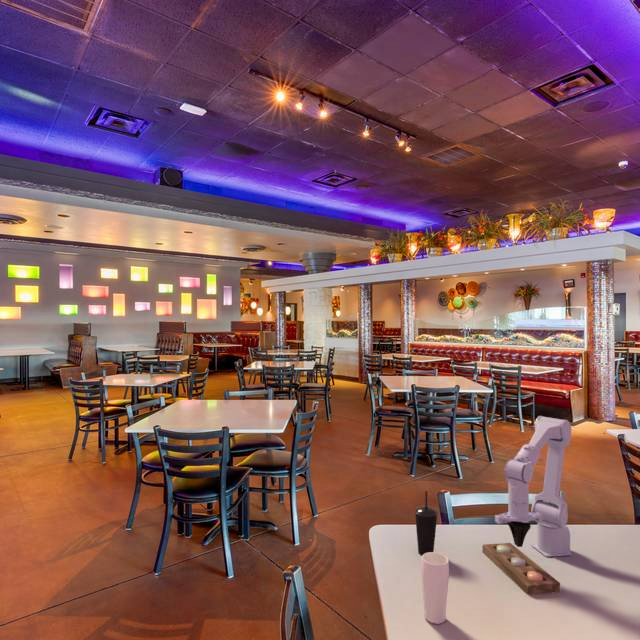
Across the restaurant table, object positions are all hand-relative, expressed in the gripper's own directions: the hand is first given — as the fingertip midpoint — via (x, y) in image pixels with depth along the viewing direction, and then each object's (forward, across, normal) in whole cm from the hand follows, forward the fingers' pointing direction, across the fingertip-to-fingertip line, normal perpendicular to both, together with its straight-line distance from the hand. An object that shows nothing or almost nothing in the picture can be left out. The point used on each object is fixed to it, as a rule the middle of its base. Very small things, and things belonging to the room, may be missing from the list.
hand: (518, 545), depth 136 cm
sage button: (+7, 0, +8) cm, 11 cm away
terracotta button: (+7, 0, -8) cm, 11 cm away
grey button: (+7, 0, 0) cm, 7 cm away
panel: (+8, 0, 0) cm, 8 cm away
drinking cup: (+8, -24, +14) cm, 29 cm away
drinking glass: (+8, -35, -18) cm, 40 cm away
